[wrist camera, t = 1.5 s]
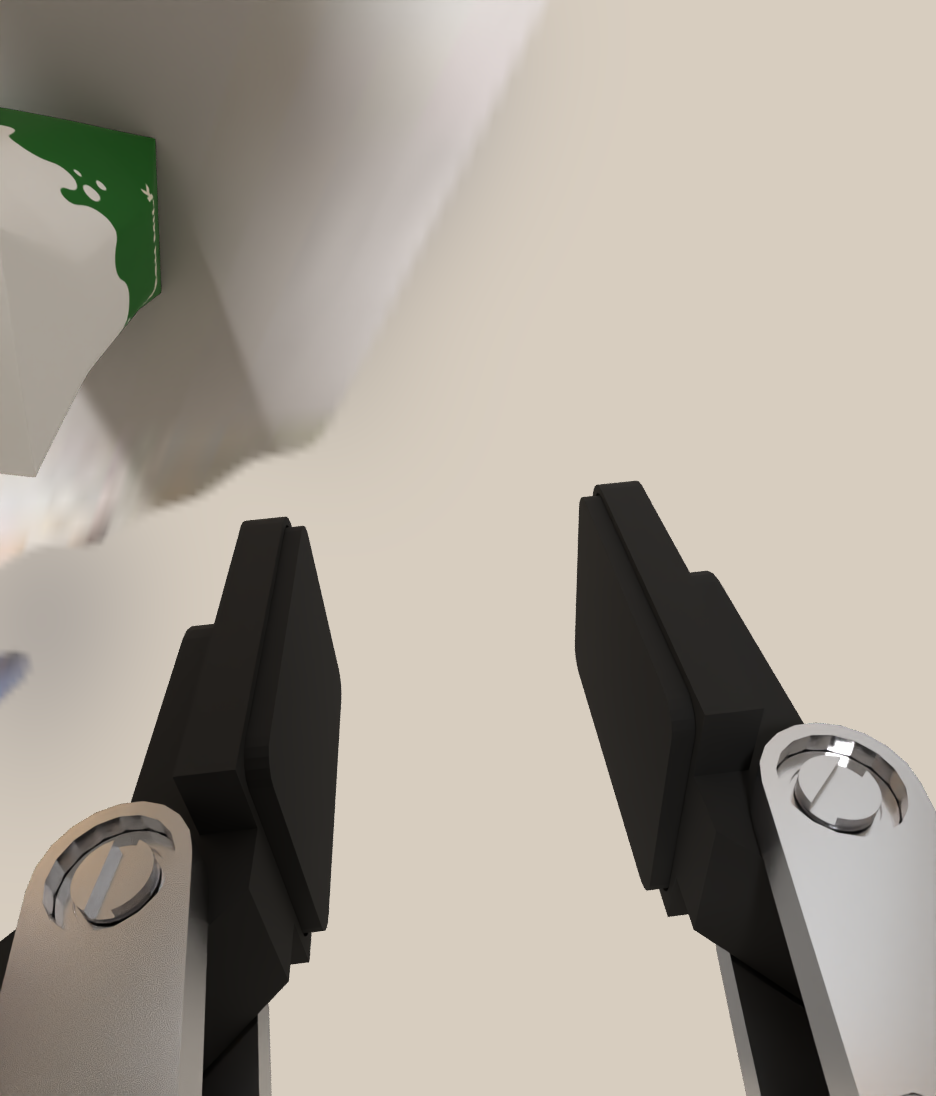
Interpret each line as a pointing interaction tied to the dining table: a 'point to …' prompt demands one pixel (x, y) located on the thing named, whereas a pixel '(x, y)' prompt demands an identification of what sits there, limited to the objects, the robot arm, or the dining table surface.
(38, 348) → the soya milk
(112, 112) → the dining table surface
